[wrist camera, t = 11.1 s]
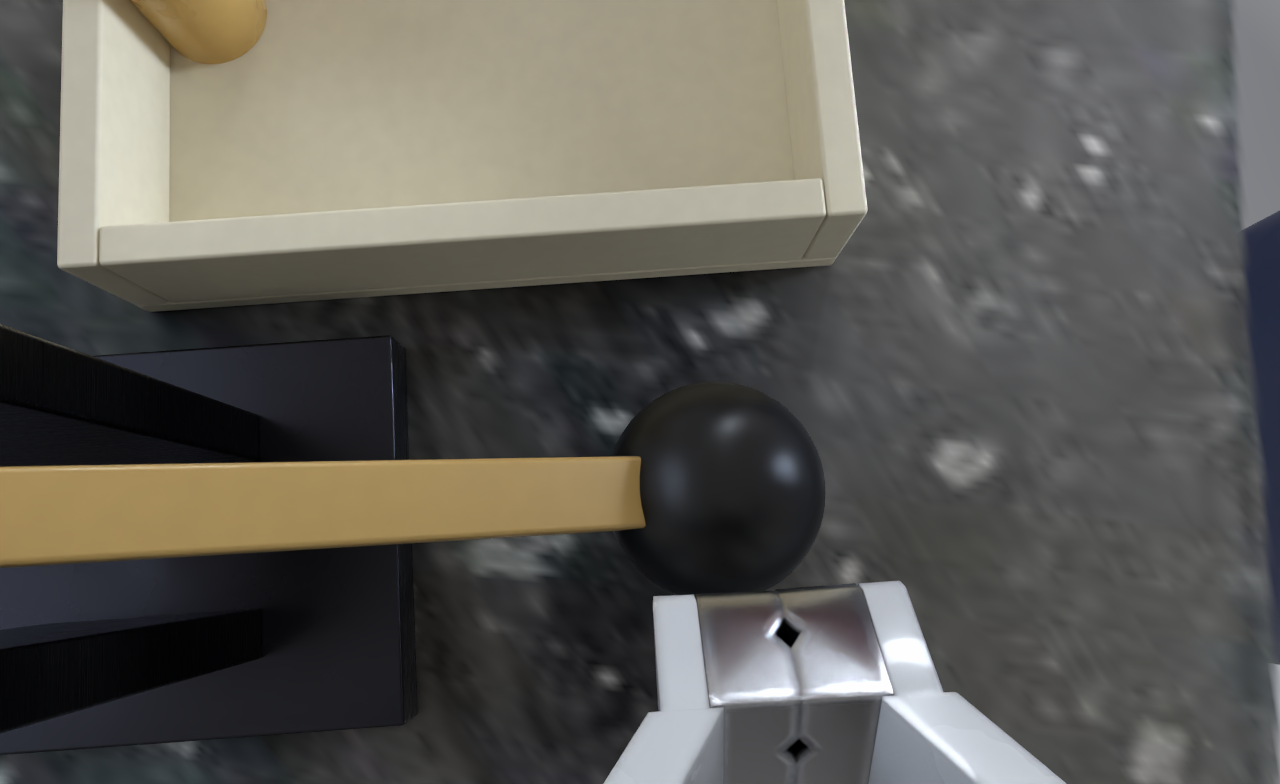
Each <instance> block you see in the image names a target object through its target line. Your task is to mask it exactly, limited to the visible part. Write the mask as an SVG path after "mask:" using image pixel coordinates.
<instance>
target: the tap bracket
mask: <svg viewBox="0 0 1280 784" xmlns="http://www.w3.org/2000/svg"><path fill="white" fill-rule="evenodd" d="M373 460H409V448H408V419H407V390H406V361H405V348H404V347H403V346H402V345H401V344H400V343H399V342H398V341H396V340H395V339H394V338H393V337H392V336H390V335H388V336H373V337H359V338H344V339H330V340H315V341H301V342H286V343H272V344H257V345H243V346H228V347H214V348H199V349H185V350H170V351H156V352H141V353H127V354H113V355H98V356H90V355H87V354H84V353H82V352H79V351H76V350H73V349H70V348H67V347H65V346H62V345H59V344H56V343H53V342H50V341H48V340H45V339H42V338H39V337H36V336H33V335H31V334H28V333H25V332H22V331H19V330H16V329H14V328H11V327H8V326H5V325H2V324H0V467H10V466H71V465H131V464H192V463H252V462H313V461H373ZM417 713H418V710H417V681H416V652H415V623H414V594H413V565H412V543H408V544H391V545H374V546H358V547H341V548H325V549H308V550H292V551H275V552H258V553H242V554H225V555H209V556H192V557H176V558H159V559H142V560H126V561H109V562H93V563H76V564H60V565H43V566H26V567H10V568H0V755H8V754H22V753H35V752H49V751H62V750H76V749H89V748H103V747H116V746H130V745H143V744H157V743H170V742H184V741H197V740H211V739H224V738H238V737H251V736H265V735H278V734H292V733H305V732H319V731H332V730H346V729H359V728H373V727H386V726H400V725H403V724H405V723H406V722H408V721H409V720H410V719H412V718H413V717H414V716H416V715H417Z"/></svg>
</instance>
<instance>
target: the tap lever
mask: <svg viewBox="0 0 1280 784" xmlns="http://www.w3.org/2000/svg"><path fill="white" fill-rule="evenodd" d="M824 507H825V480H824V473H823V468H822V464H821V460H820V457H819V455H818V452H817V449H816V447H815V445H814V443H813V441H812V439H811V437H810V436H809V434H808V432H807V431H806V429H805V428H804V427H803V425H802V424H801V423H800V422H799V420H798V419H797V418H796V417H795V416H794V415H793V414H792V413H791V412H790V411H789V410H788V409H787V408H785V407H784V406H783V405H782V404H780V403H779V402H778V401H776V400H774V399H773V398H771V397H769V396H768V395H766V394H764V393H762V392H760V391H757V390H755V389H753V388H749V387H745V386H742V385H738V384H734V383H726V382H702V383H697V384H692V385H687V386H683V387H680V388H677V389H675V390H672V391H670V392H668V393H666V394H664V395H662V396H660V397H659V398H657V399H655V400H654V401H652V402H651V403H650V404H649V405H647V406H646V407H645V408H644V409H642V410H641V411H640V412H639V413H638V414H637V415H636V416H635V417H634V418H633V419H632V420H631V422H630V423H629V424H628V426H627V427H626V429H625V430H624V432H623V433H622V434H621V436H620V438H619V440H618V442H617V444H616V446H615V448H614V451H613V453H612V456H611V457H555V458H494V459H434V460H373V461H313V462H252V463H192V464H131V465H71V466H10V467H0V568H10V567H26V566H43V565H60V564H76V563H93V562H109V561H126V560H142V559H159V558H176V557H192V556H209V555H225V554H242V553H258V552H275V551H292V550H308V549H325V548H341V547H358V546H374V545H391V544H408V543H424V542H441V541H457V540H474V539H490V538H507V537H524V536H540V535H557V534H573V533H590V532H606V531H613V532H614V534H615V536H616V538H617V540H618V542H619V544H620V546H621V548H622V550H623V551H624V553H625V554H626V556H627V557H628V559H629V560H630V561H631V562H632V563H633V564H634V566H635V567H636V568H637V569H638V570H639V571H640V572H641V573H643V574H644V575H645V576H646V577H647V578H648V579H650V580H651V581H652V582H654V583H655V584H657V585H658V586H660V587H661V588H663V589H666V590H668V591H670V592H672V593H674V594H677V595H693V594H694V596H695V595H696V594H704V593H730V592H755V591H765V590H767V589H769V588H771V587H772V586H774V585H776V584H777V583H779V582H780V581H781V580H783V579H784V578H785V577H787V576H788V575H789V574H790V573H791V572H792V571H793V570H794V569H795V568H796V567H797V566H798V565H799V563H800V562H801V561H802V560H803V559H804V557H805V556H806V554H807V553H808V552H809V550H810V548H811V546H812V544H813V542H814V540H815V538H816V536H817V533H818V531H819V528H820V526H821V522H822V518H823V513H824Z"/></svg>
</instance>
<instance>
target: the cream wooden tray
mask: <svg viewBox="0 0 1280 784" xmlns="http://www.w3.org/2000/svg"><path fill="white" fill-rule="evenodd" d="M265 2H266V6H267V20H266V25H265V28H264V31H263V33H262V35H261V37H260V38H259V40H258V41H257V43H256V44H255V45H254V46H253V47H252V48H251V49H250V50H249V51H248V52H247V53H245V54H244V55H242V56H241V57H239V58H237V59H235V60H232V61H229V62H226V63H221V64H202V63H198V62H194V61H192V60H189V59H187V58H186V57H184V56H182V55H181V54H180V53H178V52H177V51H176V50H175V49H174V48H173V47H172V46H171V44H170V43H169V42H168V41H167V40H166V39H165V38H164V37H163V36H162V35H161V34H160V33H159V31H158V30H157V29H156V28H155V27H154V26H153V25H152V24H151V23H150V22H149V21H148V20H147V19H146V17H145V16H144V15H143V14H142V13H141V12H140V11H139V10H138V9H137V8H136V7H135V6H134V5H133V3H132V2H131V1H130V0H63V28H62V72H61V117H60V161H59V205H58V250H57V265H58V267H59V268H60V269H62V270H64V271H66V272H68V273H70V274H72V275H74V276H76V277H78V278H80V279H82V280H85V281H87V282H89V283H91V284H93V285H95V286H97V287H99V288H101V289H103V290H105V291H107V292H109V293H111V294H113V295H115V296H118V297H120V298H122V299H124V300H126V301H128V302H130V303H132V304H134V305H137V307H140V308H142V309H144V310H146V311H148V312H156V311H170V310H185V309H199V308H214V307H229V306H243V305H258V304H272V303H287V302H301V301H316V300H331V299H345V298H360V297H374V296H389V295H404V294H418V293H433V292H447V291H462V290H477V289H491V288H506V287H520V286H535V285H549V284H564V283H579V282H593V281H608V280H622V279H637V278H652V277H666V276H681V275H695V274H710V273H725V272H739V271H754V270H768V269H783V268H797V267H812V266H827V265H832V264H833V263H834V261H835V260H836V258H837V256H838V255H839V253H840V252H841V250H842V249H843V247H844V246H845V244H846V243H847V241H848V240H849V238H850V237H851V235H852V234H853V233H854V231H855V230H856V228H857V227H858V225H859V224H860V222H861V221H862V219H863V218H864V216H865V215H866V213H867V210H868V209H867V200H866V191H865V182H864V174H863V165H862V156H861V147H860V138H859V129H858V120H857V111H856V102H855V93H854V84H853V75H852V66H851V58H850V49H849V40H848V31H847V22H846V13H845V4H844V0H265Z"/></svg>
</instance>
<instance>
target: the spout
mask: <svg viewBox="0 0 1280 784" xmlns="http://www.w3.org/2000/svg"><path fill="white" fill-rule="evenodd" d="M130 1H131V2H132V3H133V5H134V6H135V7H136V8H137V9H138V10H139V11H140V12H141V13H142V14H143V15H144V16H145V17H146V19H147V20H148V21H149V22H150V23H151V24H152V25H153V26H154V27H155V28H156V29H157V30H158V31H159V33H160V34H161V35H162V36H163V37H164V38H165V39H166V40H167V41H168V42H169V43H170V44H171V46H172V47H173V48H174V49H175V50H176V51H177V52H178V53H180V54H181V55H182V56H184V57H186V58H187V59H189V60H192V61H194V62H198V63H202V64H221V63H226V62H229V61H232V60H235V59H237V58H239V57H241V56H242V55H244V54H245V53H247V52H248V51H249V50H250V49H251V48H252V47H253V46H254V45H255V44H256V43H257V41H258V40H259V38H260V37H261V35H262V33H263V31H264V28H265V25H266V20H267V6H266V2H265V0H130Z"/></svg>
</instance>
